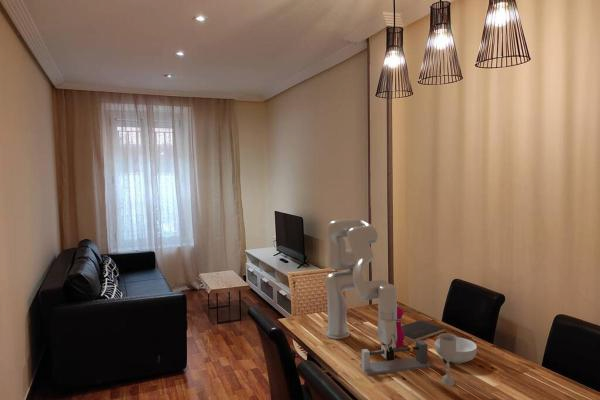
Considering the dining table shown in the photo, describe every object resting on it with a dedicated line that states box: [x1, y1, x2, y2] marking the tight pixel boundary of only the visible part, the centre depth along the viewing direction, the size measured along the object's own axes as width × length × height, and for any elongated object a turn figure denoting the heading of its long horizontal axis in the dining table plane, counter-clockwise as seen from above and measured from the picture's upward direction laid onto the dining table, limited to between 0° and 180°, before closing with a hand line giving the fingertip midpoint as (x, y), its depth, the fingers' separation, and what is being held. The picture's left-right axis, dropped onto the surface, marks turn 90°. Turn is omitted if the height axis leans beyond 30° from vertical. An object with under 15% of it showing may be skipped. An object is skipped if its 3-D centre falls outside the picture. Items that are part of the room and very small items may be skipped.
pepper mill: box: [390, 303, 405, 349], centre depth 196 cm, size 7×7×20 cm
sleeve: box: [381, 345, 392, 359], centre depth 174 cm, size 4×4×4 cm
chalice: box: [438, 332, 458, 387], centre depth 161 cm, size 7×7×18 cm
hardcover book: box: [401, 319, 446, 343], centre depth 213 cm, size 16×23×2 cm
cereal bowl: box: [434, 336, 478, 365], centre depth 181 cm, size 17×17×7 cm
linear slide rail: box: [359, 339, 432, 376], centre depth 175 cm, size 8×28×9 cm, turn 102°
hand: (387, 357), depth 174 cm, fingers closed on sleeve, 4 cm apart
